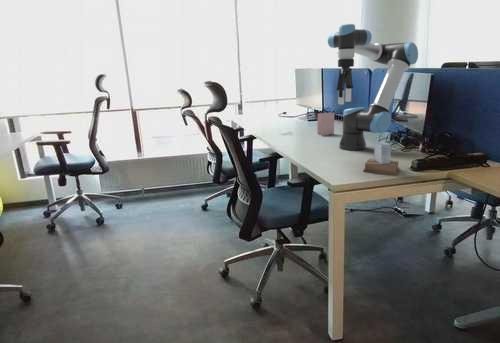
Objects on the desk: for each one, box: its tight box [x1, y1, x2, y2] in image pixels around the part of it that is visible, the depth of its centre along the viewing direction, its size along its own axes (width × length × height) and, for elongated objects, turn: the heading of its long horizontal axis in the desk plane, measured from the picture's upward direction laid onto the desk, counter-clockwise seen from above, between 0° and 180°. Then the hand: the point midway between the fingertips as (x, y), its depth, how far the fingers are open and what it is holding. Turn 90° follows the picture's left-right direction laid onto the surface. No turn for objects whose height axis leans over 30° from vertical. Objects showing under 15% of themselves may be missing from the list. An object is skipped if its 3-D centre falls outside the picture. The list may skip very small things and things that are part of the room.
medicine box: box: [373, 141, 392, 164], centre depth 168 cm, size 8×4×9 cm, turn 5°
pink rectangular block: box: [316, 112, 335, 137], centre depth 259 cm, size 11×7×15 cm, turn 84°
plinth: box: [362, 158, 400, 176], centre depth 170 cm, size 10×14×4 cm
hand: (344, 102), depth 187 cm, fingers open, 13 cm apart
